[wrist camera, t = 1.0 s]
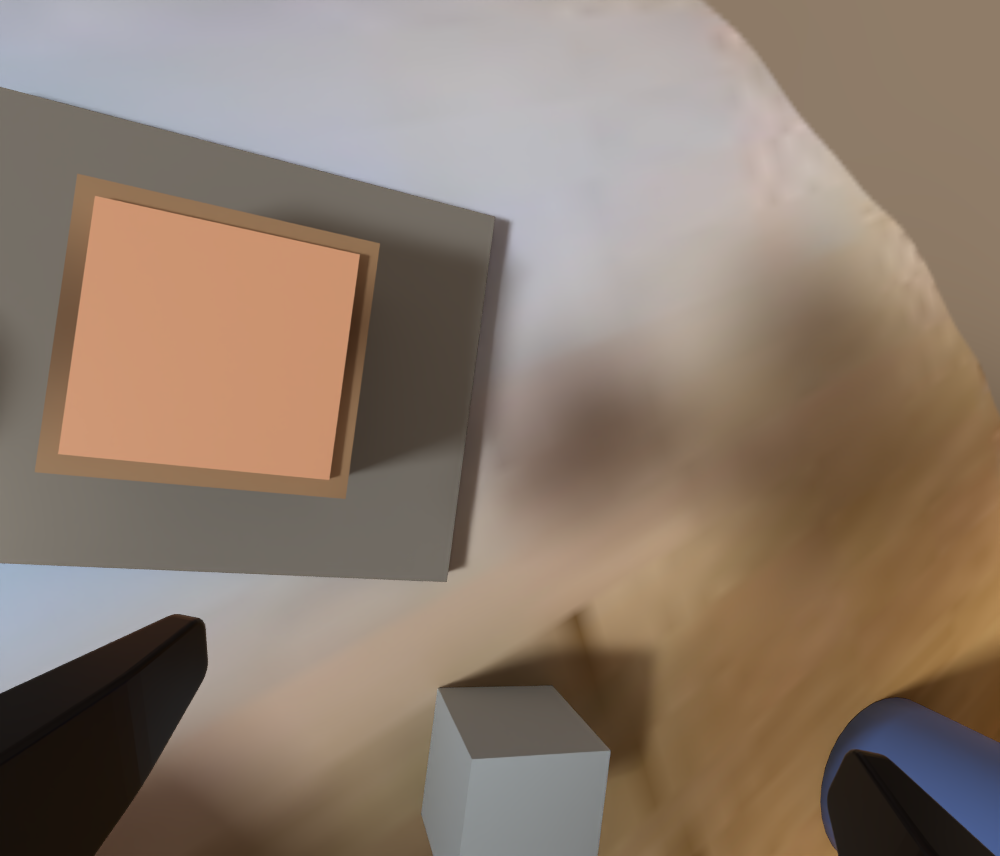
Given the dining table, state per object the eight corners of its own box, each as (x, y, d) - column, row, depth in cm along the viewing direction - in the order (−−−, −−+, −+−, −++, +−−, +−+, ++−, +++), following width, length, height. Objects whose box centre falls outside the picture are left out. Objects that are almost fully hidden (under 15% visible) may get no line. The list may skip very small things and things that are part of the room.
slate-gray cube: (536, 801, 24) (592, 897, 19) (420, 812, 23) (451, 918, 18) (551, 684, 24) (610, 750, 20) (437, 686, 23) (471, 759, 18)
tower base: (440, 574, 22) (489, 634, 17) (-70, 551, 17) (-269, 624, 11) (487, 224, 23) (551, 158, 17) (-5, 99, 18) (-165, -63, 12)
